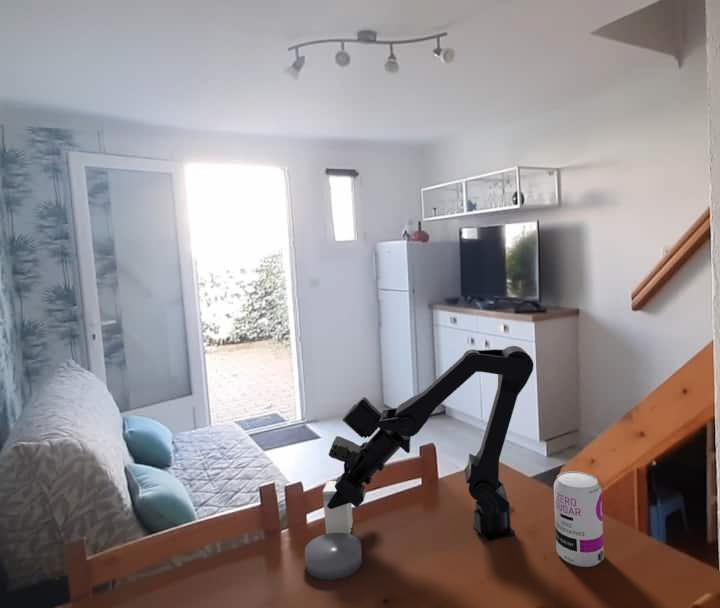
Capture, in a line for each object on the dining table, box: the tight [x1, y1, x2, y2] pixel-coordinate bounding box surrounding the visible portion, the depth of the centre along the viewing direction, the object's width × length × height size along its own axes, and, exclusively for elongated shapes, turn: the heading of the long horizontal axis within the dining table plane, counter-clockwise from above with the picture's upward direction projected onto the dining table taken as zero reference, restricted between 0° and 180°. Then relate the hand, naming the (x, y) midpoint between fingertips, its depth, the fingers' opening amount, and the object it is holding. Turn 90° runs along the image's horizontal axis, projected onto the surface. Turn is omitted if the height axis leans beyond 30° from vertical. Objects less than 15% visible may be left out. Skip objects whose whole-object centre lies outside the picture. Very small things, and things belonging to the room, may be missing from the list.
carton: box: [322, 480, 354, 535], centre depth 111 cm, size 5×5×10 cm
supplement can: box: [553, 471, 605, 568], centre depth 96 cm, size 8×8×15 cm
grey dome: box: [304, 533, 363, 581], centre depth 100 cm, size 11×11×3 cm
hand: (331, 501), depth 112 cm, fingers open, 5 cm apart
